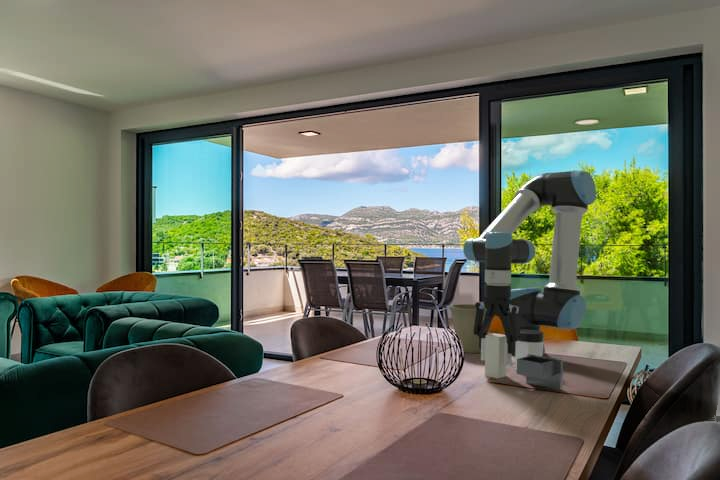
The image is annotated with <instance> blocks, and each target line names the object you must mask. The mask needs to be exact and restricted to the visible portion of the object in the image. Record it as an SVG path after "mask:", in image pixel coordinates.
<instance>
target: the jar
mask: <svg viewBox="0 0 720 480" xmlns="http://www.w3.org/2000/svg"><path fill="white" fill-rule="evenodd" d="M520 333H521V340H519V341H516V350H515V355H514V357H515V358H514V359H515V361H514V362H515V363H514V370H515V372H517V359H519V358H523V357H527V354H532V355H537V356H543V357H544V355H543V343H544V336H545V335H544V331H541V330H540V331H537V330H526V329H523V330H520Z"/></svg>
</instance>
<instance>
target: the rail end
mask: <svg viewBox="0 0 720 480" xmlns="http://www.w3.org/2000/svg"><path fill="white" fill-rule="evenodd" d="M506 341H507V338H506V335H504V334H499V333H488V335H486V345H485V360H484V376H485V377H490V378H494V379H499V380H500V379H501V378H505V377H507V372H508V371H507V370H508V369H507V368H508V365H504V354H505V342H506Z"/></svg>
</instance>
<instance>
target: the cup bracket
mask: <svg viewBox="0 0 720 480" xmlns="http://www.w3.org/2000/svg"><path fill="white" fill-rule="evenodd" d="M563 372H564V360H563V359H560V358H559V359H558V358H552V357H547V356H544V355H543V356H537V355H532V354H527V357H523V358H519V359H517V371H516V374H517V375H520V376H525V377H526V379H525V384H530V385H532V386H533V385H534V386H539V387H543V388H547V389H551V388H552V390H555V389H556V391H560V390H561V391H562V390H563V377H564V375H563V374H564V373H563Z"/></svg>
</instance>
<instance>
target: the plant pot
mask: <svg viewBox="0 0 720 480" xmlns="http://www.w3.org/2000/svg"><path fill="white" fill-rule="evenodd" d="M450 308H451V310H450V311H451V319H452V324H453V330H454V334H455V333H456V335H457V336H458V337H459V339H460V340H461V343H462V345H463V349H464V352H463V353H468V354H479V353H480V354H481V348H479V337H478V336H477V335H474V333H473V331H474V324H475V316H476V305H475V304H471V303H470V304H467V303H462V304H461V303H460V304H458V303H456V304H452V305H450ZM486 311H487V309H486V307H485V308H484V315H483V321H484V319H485V314H486ZM482 324H483V323H482ZM490 327H491V326H490ZM490 327H489V330H490ZM489 330H488V332H487V335H488V334H489ZM456 335H455V336H456ZM485 338H486V337H485Z"/></svg>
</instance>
